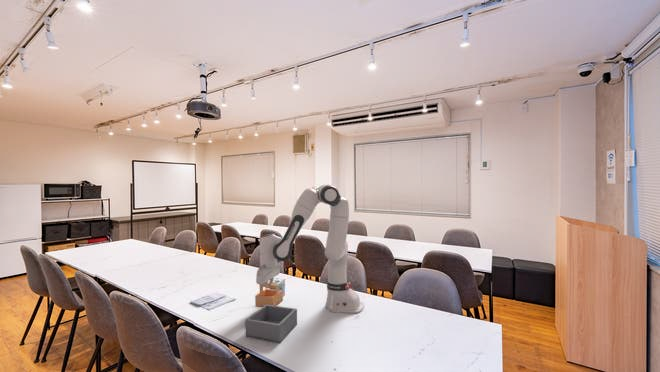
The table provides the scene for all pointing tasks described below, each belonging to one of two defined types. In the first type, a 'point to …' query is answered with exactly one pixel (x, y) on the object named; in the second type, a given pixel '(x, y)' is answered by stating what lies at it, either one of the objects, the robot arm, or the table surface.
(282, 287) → the light bulb box
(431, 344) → the table surface
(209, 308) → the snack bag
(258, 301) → the small crate
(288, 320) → the box
